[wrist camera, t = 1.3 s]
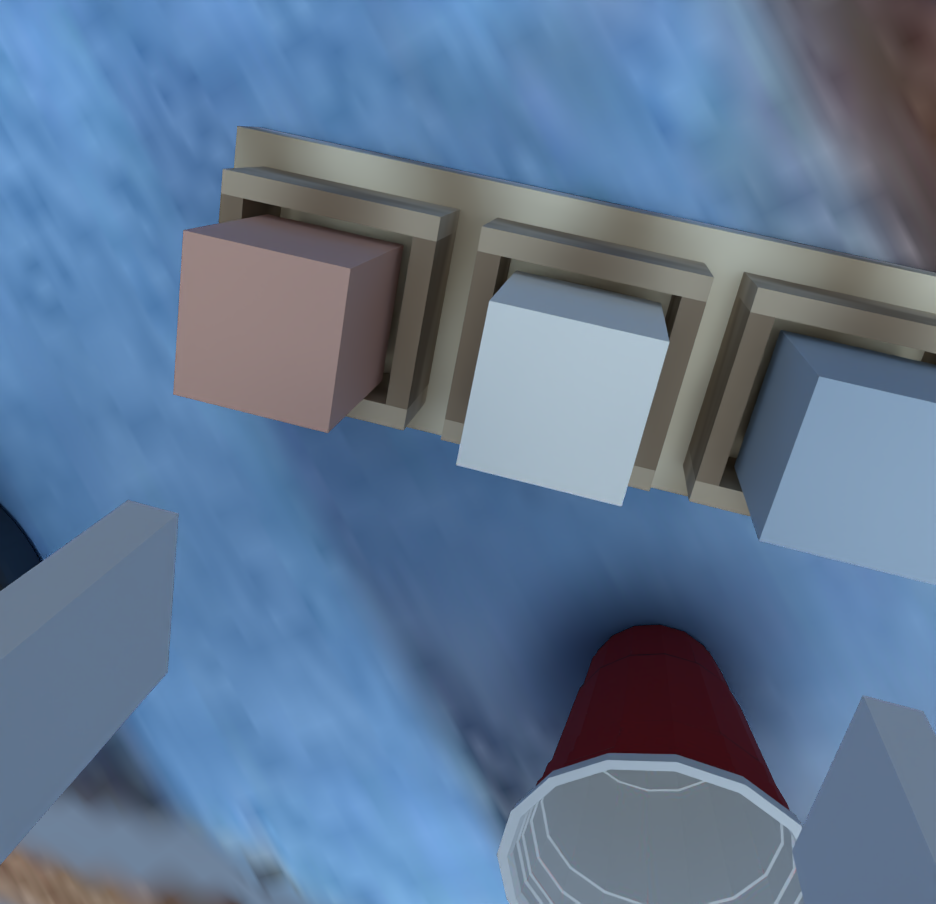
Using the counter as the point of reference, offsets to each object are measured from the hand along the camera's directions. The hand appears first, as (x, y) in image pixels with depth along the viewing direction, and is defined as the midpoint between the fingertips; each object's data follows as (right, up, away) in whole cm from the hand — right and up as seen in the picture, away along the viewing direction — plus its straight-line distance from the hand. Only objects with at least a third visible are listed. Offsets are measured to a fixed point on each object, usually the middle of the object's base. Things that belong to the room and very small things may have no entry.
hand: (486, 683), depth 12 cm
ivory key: (+3, +7, +18) cm, 19 cm away
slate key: (+12, +4, +17) cm, 21 cm away
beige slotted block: (+4, +8, +22) cm, 24 cm away
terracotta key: (-5, +9, +18) cm, 21 cm away
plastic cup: (+8, -7, +27) cm, 29 cm away
